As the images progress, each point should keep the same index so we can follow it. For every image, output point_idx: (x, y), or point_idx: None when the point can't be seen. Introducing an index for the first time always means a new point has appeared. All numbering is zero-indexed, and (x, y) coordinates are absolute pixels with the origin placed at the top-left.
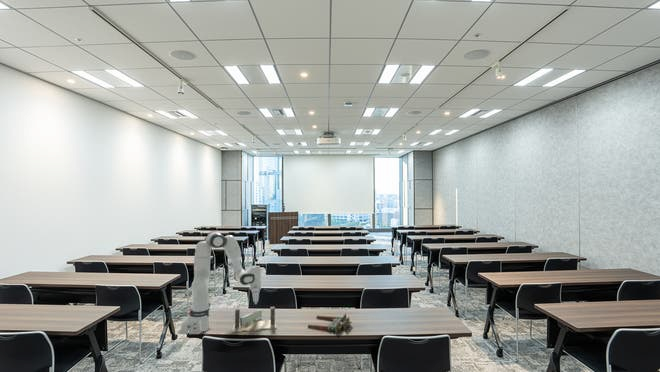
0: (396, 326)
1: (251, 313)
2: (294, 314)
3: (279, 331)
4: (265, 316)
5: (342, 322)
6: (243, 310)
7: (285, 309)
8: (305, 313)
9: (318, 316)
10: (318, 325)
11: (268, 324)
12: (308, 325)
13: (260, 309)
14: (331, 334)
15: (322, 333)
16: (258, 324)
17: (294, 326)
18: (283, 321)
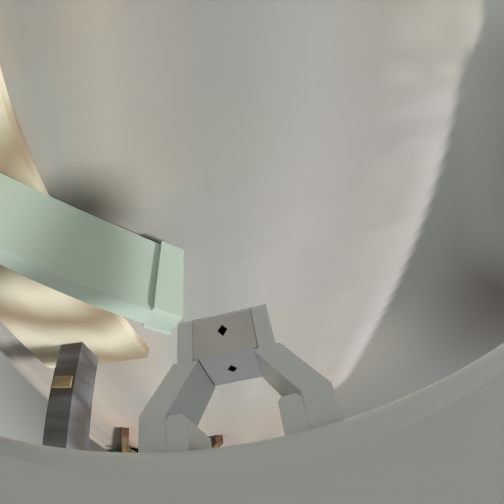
0: None
1: (4, 256)
2: (263, 393)
3: (33, 370)
4: (229, 274)
5: None
6: (425, 13)
7: (353, 348)
8: (272, 413)
9: (214, 445)
10: (126, 448)
11: (54, 335)
12: (121, 435)
13: (170, 323)
14: (102, 446)
15: (98, 439)
16: (20, 278)
17: (110, 406)
18: (151, 378)
